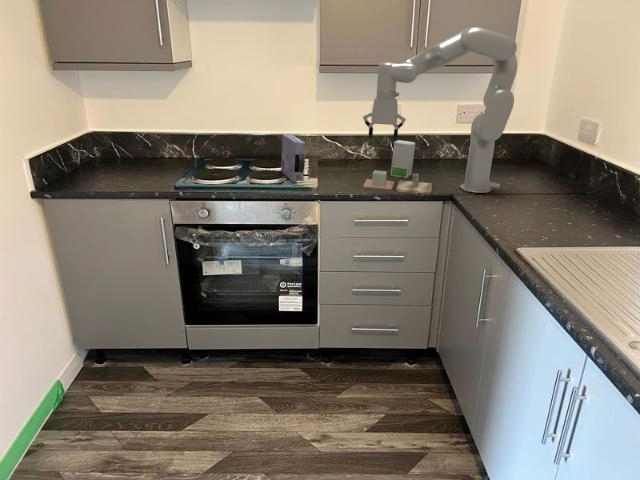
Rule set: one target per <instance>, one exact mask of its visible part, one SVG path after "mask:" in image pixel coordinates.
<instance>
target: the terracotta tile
mask: <svg viewBox="0 0 640 480" xmlns="http://www.w3.org/2000/svg"><path fill="white" fill-rule="evenodd" d="M394 184H395V181H393V180H386V184H385V186H379V185H372V179H371V178H366V180H365V182H364V184H363V186H362V188H364V189H373V190H374V189H375V190H383V191H384V190H386V191H392V190H393V188H394Z"/></svg>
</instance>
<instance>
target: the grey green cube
mask: <svg viewBox="0 0 640 480" xmlns="http://www.w3.org/2000/svg"><path fill="white" fill-rule="evenodd" d="M387 173H388V171H387V170H386V171H385V170H376V169H375V170H374V171H373V172H372V185H379V186H385V184H386V181H387V176H388V175H387Z"/></svg>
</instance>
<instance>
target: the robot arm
mask: <svg viewBox="0 0 640 480" xmlns="http://www.w3.org/2000/svg"><path fill="white" fill-rule="evenodd" d="M517 51H518V45H517V42H516V40H515V38H513V37H511V36H508V35H506V34H502V33H499V32H495V31H492V30H489V29H485V28H482V27H479V26H472V27H468V28H466V29H464V30H461V31H460V32H458V33H456V34H454V35H452V36H450V37H448V38H447V39H444V40H443V41H441V42H438V43H437V44H435V45H432V46H431V47H429V48H427V49H426V50H424V51H421V52H419V53H417V54H416V55H414V56H412V57H410V58H408V59H406V60H405V61H403V62H401V63H396V62H393V61H391V62H389V61H383V62H380V63H378V69H377V81H376V82H377V83H376V97H375V98H374V99H373V104H372V109H371V112H370V113H367V114H365V115H364V116H362V119H363V121H364V124H365V125H366V127H368V136H369V139H372V138H373V136H374V128H373V126H374V125H387V126H388V125H389V126H390V125H391V126H393V128H394V129H393V140H396V138H398V135H399V134H398V133H399V129H400V128H402V127H403V126H404V123H405V122H406V120H407V119H406V118H405V117H404V116H402V115H401V114H398V110H399V109H398V107H399V105H398V99H397V98H396V97H399V96H400V92H397V90H396V89H397V83H403V84H410V83H413V82H414V81H415V80H416V79H417V78H418V76H420V75H421V74H423V73H425V72H429V71H431V70H433V69H438V68H442V67H444V66H447V65H449V64H451V63H453V62H454V61H457V60H458V59H461V58H462V57H464V56H467V55H469V54H471V53H475V54H478V55H482V56H485V57H488V58H490V59H491V60H492V62H493V71H492V74H491V77H490V79H489V80H490V81H489V82H488V85H487V88H486V90H485V93H484V96H483V101H482V103H483V105H484V107H485V109H484V112H482V113H479V114H478V115H476V117H474V119H473V121H472V123H471V127H470V141H469V142H470V144H469V148H468V149H469V151H468V155H467V163H466V170H465V176H464V183H462V184H460V185H459V188H460V187H461V188H462V189H464V190H467V191H472V192H488V191H490V190H491V191H492V188H493V189H500V187H501V184H500V183H497V182H491V181H490V175H491V168H492V162H493V157H494V151H495V150H494V149H495V145H496V144H495V141H496V140H499V138H500V137H501V136H502V134H503V133H504V131H505V128H506V126H507V124H508V120H510V119H509V118H510V116H511V113H512V111H513V108H514V105H515V104H514V103H515V96H514V94H513V92H512V91H511V90H512V88H513V84H514V82H515V78H516V76H517V72H518V57H517V54H516V53H517ZM368 118H371V122H370V121H369V120H368ZM398 119H399V120H400V123H399V124H398V123H397V121H398Z"/></svg>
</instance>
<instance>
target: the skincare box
mask: <svg viewBox="0 0 640 480" xmlns="http://www.w3.org/2000/svg"><path fill="white" fill-rule="evenodd" d="M415 149H416V142H414V141H408V140H401V139H398V140H396V141H394V143H393V151H392V157H391V158H392V159H391V169H390V176H391V177H395V178H401V177H403V178H402V179H406V178H407V179H408V178H410V177H411V176H412V170H413V165H414V163H413V162H414V156H415ZM410 175H411V176H410ZM409 176H410V177H409Z"/></svg>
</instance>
